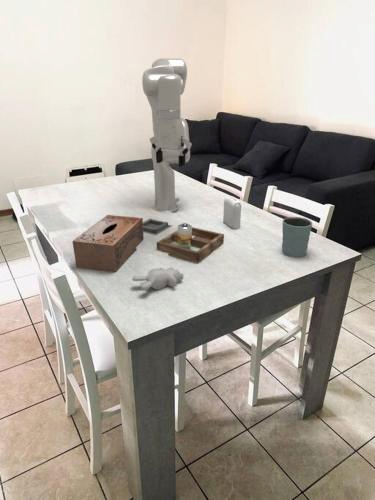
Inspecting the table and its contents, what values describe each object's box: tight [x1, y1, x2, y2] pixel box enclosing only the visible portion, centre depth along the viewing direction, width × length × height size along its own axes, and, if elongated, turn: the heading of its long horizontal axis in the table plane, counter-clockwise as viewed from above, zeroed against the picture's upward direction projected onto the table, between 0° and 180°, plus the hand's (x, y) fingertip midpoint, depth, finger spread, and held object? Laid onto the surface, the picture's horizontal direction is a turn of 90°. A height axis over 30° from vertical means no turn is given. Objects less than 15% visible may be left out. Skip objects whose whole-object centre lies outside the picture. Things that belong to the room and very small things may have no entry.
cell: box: [177, 222, 193, 250], centre depth 131 cm, size 5×5×10 cm
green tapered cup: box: [281, 216, 313, 258], centre depth 131 cm, size 10×10×12 cm
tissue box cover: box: [72, 214, 145, 273], centre depth 131 cm, size 26×14×10 cm, turn 165°
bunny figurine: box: [132, 267, 184, 291], centre depth 111 cm, size 10×5×15 cm
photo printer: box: [222, 195, 242, 230], centre depth 155 cm, size 10×4×12 cm, turn 20°
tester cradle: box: [143, 218, 173, 236], centre depth 153 cm, size 12×12×2 cm
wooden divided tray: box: [156, 226, 225, 264], centre depth 136 cm, size 20×17×4 cm
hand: (170, 164), depth 134 cm, fingers open, 9 cm apart
